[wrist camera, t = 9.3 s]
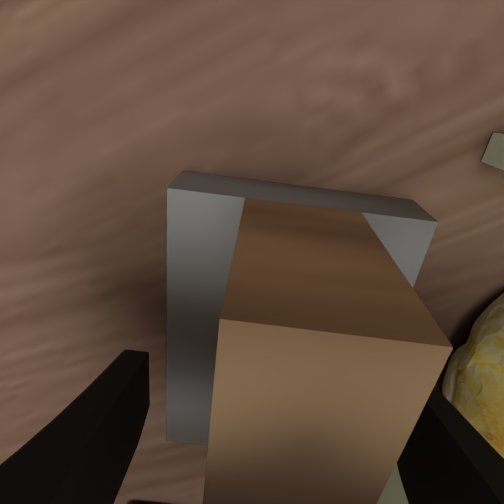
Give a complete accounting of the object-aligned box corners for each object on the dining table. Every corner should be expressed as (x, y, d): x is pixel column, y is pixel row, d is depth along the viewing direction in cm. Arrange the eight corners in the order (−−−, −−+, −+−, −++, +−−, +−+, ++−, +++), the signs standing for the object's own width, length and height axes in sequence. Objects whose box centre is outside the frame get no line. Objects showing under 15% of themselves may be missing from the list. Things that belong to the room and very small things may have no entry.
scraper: (337, 416, 15) (384, 653, 9) (178, 397, 15) (113, 622, 9) (410, 198, 11) (606, 365, 4) (184, 169, 11) (62, 299, 4)
